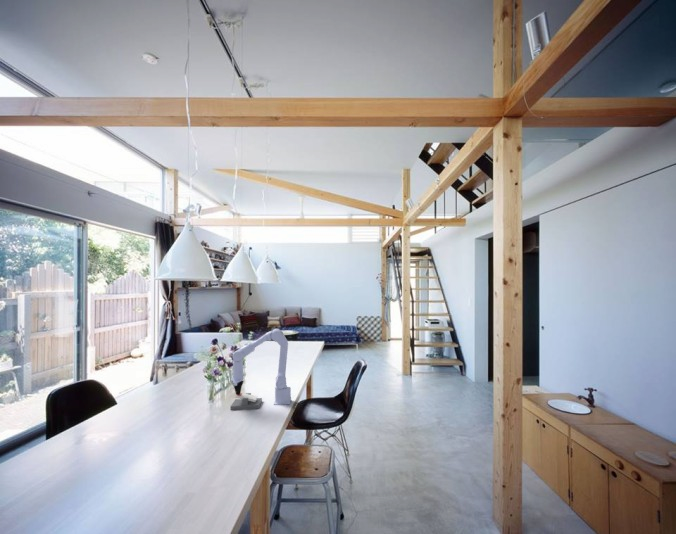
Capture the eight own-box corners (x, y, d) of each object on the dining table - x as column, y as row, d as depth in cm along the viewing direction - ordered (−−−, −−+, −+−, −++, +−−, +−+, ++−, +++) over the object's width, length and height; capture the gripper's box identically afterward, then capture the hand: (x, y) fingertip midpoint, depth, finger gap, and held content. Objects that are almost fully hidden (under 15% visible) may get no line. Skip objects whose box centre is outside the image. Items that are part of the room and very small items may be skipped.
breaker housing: (261, 401, 195) (261, 392, 195) (258, 408, 184) (258, 398, 184) (235, 402, 194) (235, 393, 194) (230, 409, 183) (230, 400, 183)
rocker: (257, 398, 192) (257, 396, 192) (255, 402, 186) (255, 399, 186) (237, 394, 192) (238, 391, 192) (235, 397, 186) (235, 395, 186)
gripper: (234, 367, 196) (234, 390, 196) (227, 374, 182) (227, 399, 181) (246, 367, 197) (246, 389, 196) (240, 374, 182) (240, 398, 182)
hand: (238, 394), depth 189 cm, fingers closed, pressing on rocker
